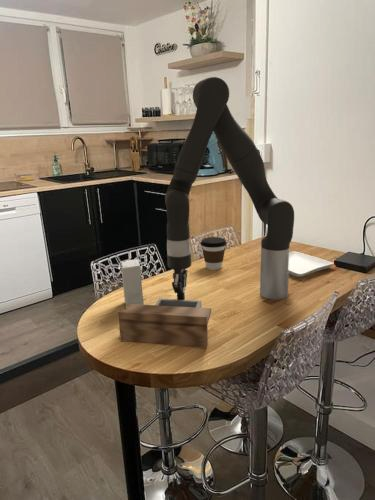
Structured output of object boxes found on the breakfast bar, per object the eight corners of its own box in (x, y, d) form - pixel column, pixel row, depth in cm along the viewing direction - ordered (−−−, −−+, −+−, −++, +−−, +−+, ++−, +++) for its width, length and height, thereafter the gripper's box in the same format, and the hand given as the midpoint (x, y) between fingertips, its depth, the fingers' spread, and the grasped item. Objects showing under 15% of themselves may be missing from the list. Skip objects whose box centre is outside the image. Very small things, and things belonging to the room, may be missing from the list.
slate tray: (201, 309, 123) (201, 300, 123) (191, 337, 107) (190, 327, 106) (159, 306, 126) (159, 298, 125) (142, 333, 109) (142, 324, 109)
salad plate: (334, 269, 156) (335, 261, 155) (299, 282, 144) (300, 273, 143) (293, 257, 172) (294, 250, 171) (259, 267, 161) (259, 259, 160)
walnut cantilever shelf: (211, 330, 110) (211, 301, 107) (207, 348, 101) (206, 317, 98) (131, 325, 114) (129, 297, 112) (120, 341, 106) (117, 312, 103)
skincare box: (144, 309, 125) (141, 266, 121) (125, 311, 124) (122, 268, 120) (141, 298, 133) (138, 258, 129) (124, 301, 132) (120, 260, 127)
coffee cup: (213, 273, 154) (213, 245, 151) (195, 267, 162) (194, 240, 159) (232, 267, 161) (232, 239, 158) (213, 261, 169) (213, 235, 166)
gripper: (186, 259, 114) (188, 311, 119) (194, 246, 126) (195, 294, 132) (162, 258, 116) (165, 310, 121) (172, 245, 128) (174, 293, 133)
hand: (181, 302), depth 126 cm, fingers closed
